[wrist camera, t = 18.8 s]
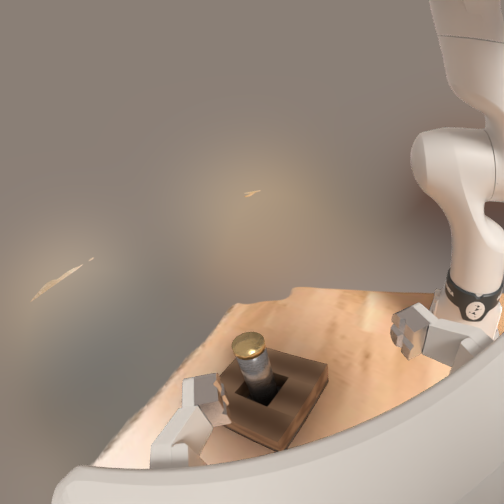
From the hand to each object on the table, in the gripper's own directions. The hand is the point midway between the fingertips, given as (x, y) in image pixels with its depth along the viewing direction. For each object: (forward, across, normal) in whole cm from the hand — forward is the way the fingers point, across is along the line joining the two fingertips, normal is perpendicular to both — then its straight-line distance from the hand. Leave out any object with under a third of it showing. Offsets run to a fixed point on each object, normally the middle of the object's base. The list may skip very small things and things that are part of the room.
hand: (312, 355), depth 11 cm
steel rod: (+21, +4, +31) cm, 38 cm away
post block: (+21, +4, +32) cm, 38 cm away
